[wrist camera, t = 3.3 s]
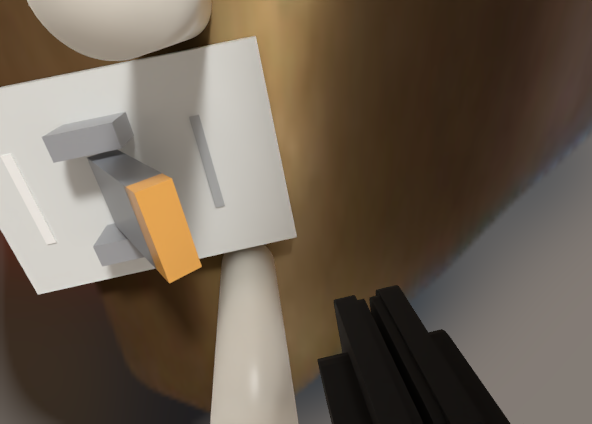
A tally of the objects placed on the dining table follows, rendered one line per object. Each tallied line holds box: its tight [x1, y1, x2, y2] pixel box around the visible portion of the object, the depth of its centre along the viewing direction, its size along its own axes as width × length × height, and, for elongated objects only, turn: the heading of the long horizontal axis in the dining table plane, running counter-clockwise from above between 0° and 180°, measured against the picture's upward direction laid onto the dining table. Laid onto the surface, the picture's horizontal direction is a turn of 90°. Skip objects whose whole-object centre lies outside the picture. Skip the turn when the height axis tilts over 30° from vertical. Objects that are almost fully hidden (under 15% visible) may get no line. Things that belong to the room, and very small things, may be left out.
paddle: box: [87, 150, 202, 283], centre depth 21 cm, size 2×4×9 cm, turn 11°
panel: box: [0, 36, 297, 294], centre depth 25 cm, size 18×13×5 cm
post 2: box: [210, 245, 298, 424], centre depth 25 cm, size 4×4×14 cm
